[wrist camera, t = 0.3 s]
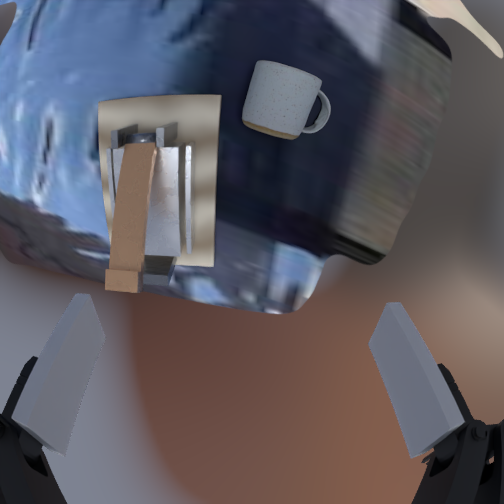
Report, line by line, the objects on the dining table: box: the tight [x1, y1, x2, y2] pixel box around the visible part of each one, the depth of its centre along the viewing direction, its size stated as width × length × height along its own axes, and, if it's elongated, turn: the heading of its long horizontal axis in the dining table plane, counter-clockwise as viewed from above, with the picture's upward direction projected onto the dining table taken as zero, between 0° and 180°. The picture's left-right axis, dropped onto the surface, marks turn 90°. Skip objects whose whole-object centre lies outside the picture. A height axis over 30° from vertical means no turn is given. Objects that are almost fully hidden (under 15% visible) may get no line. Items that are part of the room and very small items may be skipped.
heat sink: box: [106, 122, 196, 286], centre depth 32 cm, size 20×11×6 cm, turn 175°
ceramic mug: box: [242, 60, 331, 140], centre depth 28 cm, size 11×8×8 cm
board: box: [98, 95, 222, 267], centre depth 35 cm, size 24×16×2 cm, turn 175°
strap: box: [105, 133, 157, 293], centre depth 26 cm, size 17×4×2 cm
